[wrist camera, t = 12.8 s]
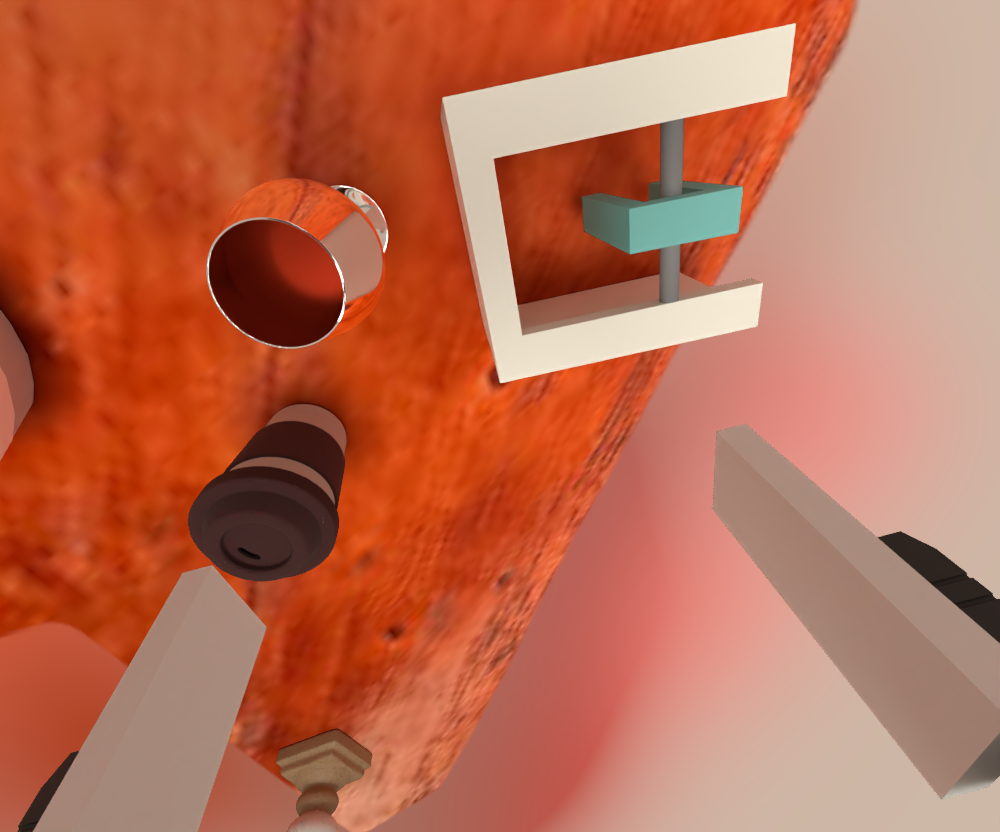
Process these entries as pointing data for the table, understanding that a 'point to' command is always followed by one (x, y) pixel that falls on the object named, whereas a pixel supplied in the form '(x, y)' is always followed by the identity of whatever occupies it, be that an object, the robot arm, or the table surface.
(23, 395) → the bowl
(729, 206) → the teal u-shaped bracket
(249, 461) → the coffee cup
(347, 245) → the wineglass
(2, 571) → the table surface
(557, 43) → the table surface
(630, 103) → the white c-frame
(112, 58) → the table surface
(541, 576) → the table surface
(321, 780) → the candle holder
